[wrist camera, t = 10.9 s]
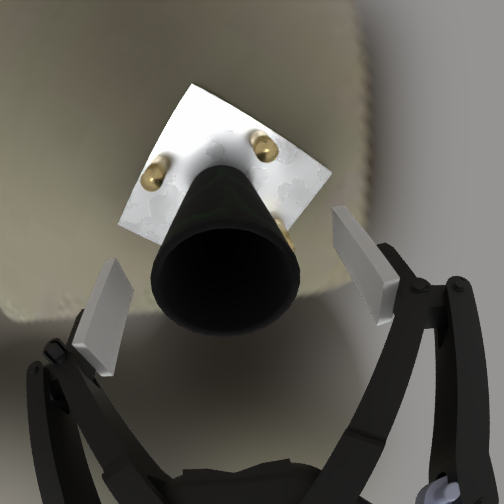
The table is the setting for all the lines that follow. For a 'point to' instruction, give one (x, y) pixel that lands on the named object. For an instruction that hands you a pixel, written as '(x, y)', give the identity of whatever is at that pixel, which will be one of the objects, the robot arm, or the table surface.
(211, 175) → the cup
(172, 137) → the white board with pegs
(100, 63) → the table surface
